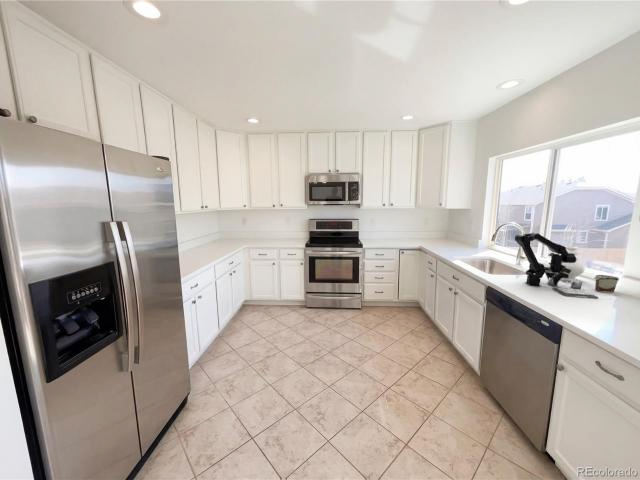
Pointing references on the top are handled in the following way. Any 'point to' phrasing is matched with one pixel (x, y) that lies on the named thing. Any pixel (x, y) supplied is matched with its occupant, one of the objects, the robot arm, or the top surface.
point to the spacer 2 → (576, 284)
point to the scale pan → (575, 291)
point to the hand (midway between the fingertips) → (552, 283)
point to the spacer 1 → (551, 282)
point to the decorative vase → (573, 265)
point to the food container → (605, 283)
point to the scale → (575, 294)
